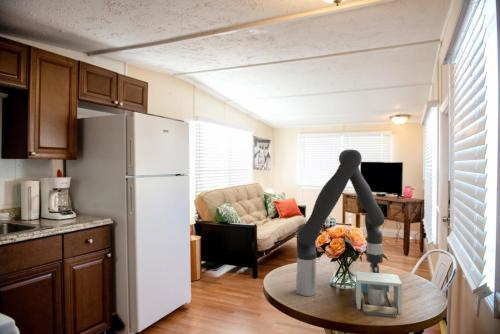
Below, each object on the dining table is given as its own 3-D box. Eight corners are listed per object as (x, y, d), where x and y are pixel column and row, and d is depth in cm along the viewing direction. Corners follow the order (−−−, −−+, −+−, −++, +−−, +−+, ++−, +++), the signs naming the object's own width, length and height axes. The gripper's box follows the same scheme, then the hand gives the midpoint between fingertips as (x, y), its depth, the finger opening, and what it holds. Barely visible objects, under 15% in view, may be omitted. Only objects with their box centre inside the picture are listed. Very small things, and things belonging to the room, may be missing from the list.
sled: (363, 311, 146) (363, 290, 146) (359, 291, 169) (359, 272, 169) (396, 315, 142) (396, 293, 142) (388, 293, 165) (388, 275, 165)
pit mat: (365, 314, 143) (365, 313, 143) (364, 312, 145) (364, 311, 145) (396, 318, 140) (396, 317, 140) (395, 315, 142) (395, 314, 142)
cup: (392, 310, 147) (392, 292, 147) (374, 311, 146) (374, 292, 146) (380, 300, 157) (380, 283, 157) (363, 300, 157) (364, 283, 157)
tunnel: (357, 308, 148) (357, 280, 148) (355, 298, 160) (355, 271, 160) (401, 313, 144) (402, 283, 144) (396, 302, 155) (397, 274, 155)
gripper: (365, 247, 174) (365, 279, 174) (367, 255, 160) (367, 289, 160) (380, 248, 172) (380, 280, 172) (384, 256, 158) (384, 290, 158)
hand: (374, 284), depth 166 cm, fingers open, 8 cm apart
